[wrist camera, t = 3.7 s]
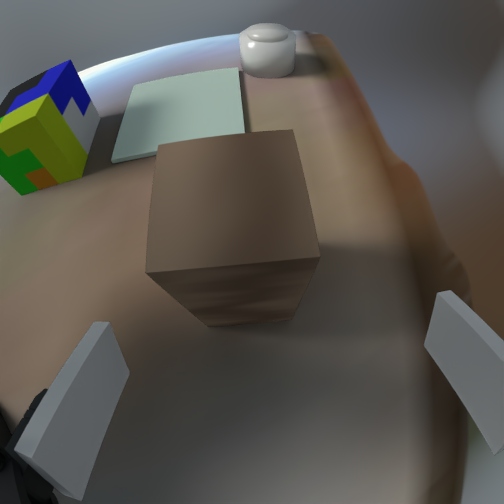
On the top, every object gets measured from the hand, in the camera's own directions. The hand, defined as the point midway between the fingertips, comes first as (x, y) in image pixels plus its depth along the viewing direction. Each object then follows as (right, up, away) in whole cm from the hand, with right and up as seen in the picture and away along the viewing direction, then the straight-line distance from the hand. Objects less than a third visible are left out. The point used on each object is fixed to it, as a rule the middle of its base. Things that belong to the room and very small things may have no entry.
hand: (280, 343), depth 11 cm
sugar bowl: (+1, +28, +23) cm, 36 cm away
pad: (-9, +20, +20) cm, 29 cm away
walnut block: (-1, +1, +11) cm, 12 cm away
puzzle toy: (-25, +15, +19) cm, 35 cm away
